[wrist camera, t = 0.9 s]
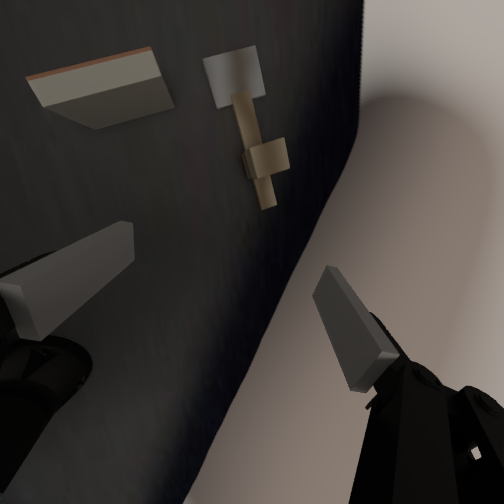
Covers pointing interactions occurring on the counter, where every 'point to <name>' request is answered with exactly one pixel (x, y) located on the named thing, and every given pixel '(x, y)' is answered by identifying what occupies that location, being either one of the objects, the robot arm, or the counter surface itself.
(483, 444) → the robot arm
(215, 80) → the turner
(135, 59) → the tile
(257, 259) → the counter surface
